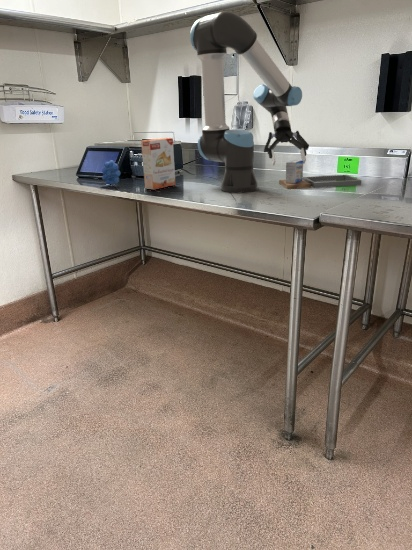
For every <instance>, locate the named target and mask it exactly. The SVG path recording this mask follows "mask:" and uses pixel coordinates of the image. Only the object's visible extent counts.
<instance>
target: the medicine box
mask: <svg viewBox="0 0 412 550" xmlns="http://www.w3.org/2000/svg"><path fill="white" fill-rule="evenodd" d="M303 177H304V164H303V160H302V159H294V160H289V161H287V162H286V163H285V180H286V183H294V184H295V183H298V182H300V181H302V180H303Z"/></svg>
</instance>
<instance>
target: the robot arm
mask: <svg viewBox="0 0 412 550" xmlns="http://www.w3.org/2000/svg"><path fill="white" fill-rule="evenodd" d="M256 32H257V31H255V30H254V29H253V26H251V25H250V23H248V22H247V20H245V19H244V18H243V17H242V16H241V15H239V14H236V13H234V12H233V11H229V10H224V11H220V12H217V13H213V14H209V15H205V16H202V17H201V18H198V19H197V20H196V21H195V22H194V23H193V24H192V26H191V29H190V35H189V38H190V43H191V46H192V47H193V49H194V50H195V51H196V53H197V54H196V55H197V56H196V57H197V58H198V59H199V60H200V61H201V73H202V74H201V75H202V77H201V78H202V89H203V90H202V92H203V106H204V107H203V108H204V126H203V128H201V131H202V133H201V135H200V136H199V139H198V140H197V149H198V152H199V154H200V156H201V157H202V158H203V159H205V160H207V161H210V162H215V163H216V162H218V163H219V162H220V163H224V174H223V179H222V182H221V189H220V190H221V191H222V190H223V191H222V192H225V191H226V192H225V193H232V192H242V193H250V192H255V191H257V190H258V189H259V188H258V186H259V185H258V180H257V177H256V174H255V170H254V158H255V157H254V152H255V149H254V148H255V142H254V141H255V140H254V134H253V133H252V132H251V131H248V130H245V129H244V130H243V129H230V126H228V125H227V121H226V98H225V80H224V79H225V77H224V76H225V75H224V59H225V58H226V56H227V55H228V54H227V53H228V51H227V48H229V49H232V50H234V52H235V53H236V54H237V55H239V56H242V57H243V58H244V60H246V62H247V63H248V64H249V66H250V67H251V68H252V69H253V71H254V72H255V73H256V74H257V75H258V77H259V78H260V79H261V80H262V82H263V83H264V84H260V85H258V86H257V87H256V88H255V89H254V91H253V93H252V95H253V96H252V97H253V99H254V101H255V102H256V103H257V104H258V105H260V106H261V107H262V108H263V109H265V110H266V111H267V112H268V113H270V116H271V121H272V126H273V131H274V133H273V132H271V131H269V132H268V138H267V140H266V143H265V146H264V149H263V152H264V153H267V155H268V158H269V159H271V162H272V163H271V164H272V166H275V165H276V158H275V152H274V151H275V150H274V149H276V147H277V145H279V143H289V144H291V145H293V146H295V147H296V148H297V149H298V150H300V158H301V160H303V165H305V163H306V161H307V158H306V157H307V151H308V150H309V147H310V144H309V143H308V142H307V141H306V140H305V139H304V137H303V136H302V135H301V134H300V131H299V130H296V132H295V131H294V132H293V131H292V128H291V123H290V117H289V113H288V109H287V107H293V106H298V105H299V104H301V101H302V99H303V91H302V88H301V87H299V86H295V85H292V84H291V83H290V82H289V81H288V79H287V78H286V76H285V75H284V73H282V71H281V70H280V67H278V65H277V64H276V63H275V61H273V58H271V56H270V55H269V53H268V52H267V51H266V49H265V48H264V47H263V46H262V44H261V43H260V41H259V40H258V34H257V33H256ZM274 138H275V140H274V141H273V143H272V144H271V141H272V140H273V139H274ZM270 144H271V145H270Z"/></svg>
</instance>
